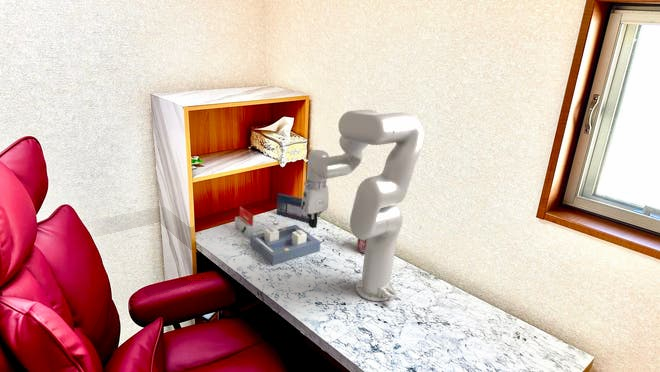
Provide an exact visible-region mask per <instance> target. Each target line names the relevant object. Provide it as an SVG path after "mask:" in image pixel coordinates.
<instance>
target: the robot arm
mask: <svg viewBox="0 0 660 372" xmlns="http://www.w3.org/2000/svg"><path fill="white" fill-rule="evenodd" d="M337 126H338V132H339V134H340V137H339V141H338V142H339V146H340V148H341V150H342V151H343V152H344V153H342V154H340V155H332V156H329V153H328V152H327V151H325V150H321V149H314V150H310V152H308V155H307V168H306V181H305V182H304V183H303V185H304V188H303V192H302V196H301V197H302V198H301V199H302V203H301V209H302V215H303V216H308V217H309V223H307V224H308V227H310V228H311V229H315V228H317V227H318V219H319V218H320V215H321V214H322V213H323V212H325V211H327V210H328V208H329V202H330V201H329V196H330V195H329V194H330V193H329V187H328V185H327V181H328V179H333V178H338V177H344V176H348V175H350V174H352V173H353V172H354V171H355V170H356V169H357V168H358V167H359V165H360V164H361V162H362V159H363V150H364V149H366V147H367V146H369V145H372V146H380V145H382V146H383V145H387V144H393V143H395V145H394V147H393V148H392V150H391V151H390V152H389V153H388V155H387V156H386V160H385V163H384V167H383V170H382V172H381V173H380V174H378V175H375V176H370V177H367V178H365V179H364V180H362V181H361V183H360V184H359V185H358V187H357V188H356V189H357V190H356V194H355V197H354V200H353V201H354V202H353V205H352V208H351V209H352V210H351V214H350V218H349V219H350V220H349V225H350V226H349V228H350V231H351V233H352V234H353V236H354V237H355V238H357V240H358V239H361V240H366V239H367V241H366V247H365V254H363V255H364V258H363V266H362V272H361V273H362V274H361V279H359V280H358V281H357V283H356V284H355V285H356V286H355V291H356V293H357V294H358V295H359V296H360V297H361V298H363V299H366V300H368V301H372V302H384V301H388V300H389V301H390V302H393V301H394V300H395V297H396V296H397V294H398V293H397V291H395V290H394V286H393V283H392V282H391V279H392V273H393V272H392V271H393V265H394V260H395V259H394V258H395V253H396V246H397V240H398V237H399V234H400V232H401V230H402V229H401V228H402V225H403V219H404V218H403V217H404V216H403V212H402V209H401V208H400V207H399V206H398V205H397V204H399V203H401V202H402V201H404V200H405V197H407V193H408V189H409V186H410V184H411V181H412V177H413V173H414V170H415V167H416V164H417V162H418V159H419V156H420V154H421V151H422V149H423V145H424V141H425V140H424V139H425V138H424V136H425V134H424V129H423V126H422V124H421V122H420V120H419V119H418V118H417V117H416V116H415V115H413V114H412V113H411V114H410V113H408V112H391V113H380V112H378V111H376V110H373V109H359V110H358V109H357V110H349V111H346V112H344V113H343V114H342V115H341V117H340V118H339V121H338V125H337Z"/></svg>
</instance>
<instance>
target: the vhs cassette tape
mask: <svg viewBox="0 0 660 372" xmlns="http://www.w3.org/2000/svg"><path fill="white" fill-rule="evenodd" d="M276 195H277V198H276V201H277V203H276V216H277V215H278V216H280V215H281V217H285V218H287V217H288V218H287V219H291V220H294V219H295V221H298V220H299V222H302V223H305V222H306V223H305V224H308V223H309V217H308V216H303V215H302V209H301V203H302V198H301V197H297V196H293V195H290V194H289V195H288V194H284V193H278V194H276Z"/></svg>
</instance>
